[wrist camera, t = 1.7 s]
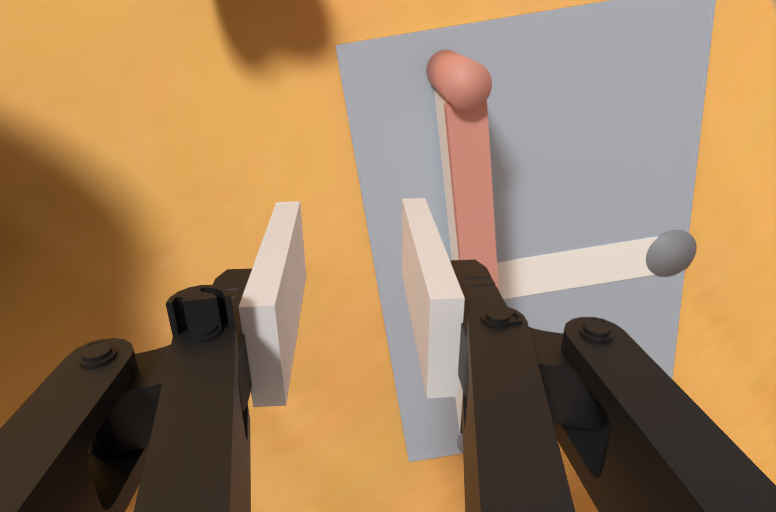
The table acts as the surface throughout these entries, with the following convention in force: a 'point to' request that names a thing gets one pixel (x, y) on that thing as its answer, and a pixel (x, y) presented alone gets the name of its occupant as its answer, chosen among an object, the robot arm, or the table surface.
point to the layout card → (543, 171)
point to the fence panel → (465, 155)
